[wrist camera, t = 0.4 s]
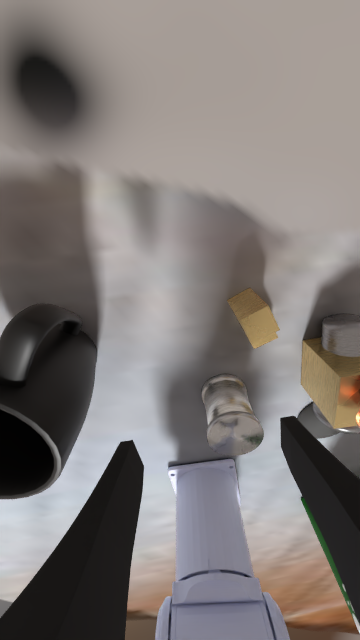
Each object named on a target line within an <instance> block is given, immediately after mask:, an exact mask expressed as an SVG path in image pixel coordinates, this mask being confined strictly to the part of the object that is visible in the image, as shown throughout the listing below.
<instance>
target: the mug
mask: <svg viewBox="0 0 360 640" xmlns="http://www.w3.org/2000/svg"><path fill="white" fill-rule="evenodd" d="M61 322H62V323H61ZM59 323H61V324H59ZM81 326H82V320H81V318H80V317H79V316H78V315H76V314H74V313H73V312H71V311H68V310H66V309H64V308H61V307H58V306H56V305H53V304H36V305H33V306H30V307H28V308H26V309H25V310H23V311H21V312H20V313H19V314H17V315H16V316H15V317H14V318H13V319H12V320H11V321H10V322H9V323H8V325H7V326H6V327H5V329H4V331H3V333H2V335H1V337H0V499H17V498H24V497H29V496H32V495H35V494H38V493H41V492H42V491H44V490H46V489H47V488H49V487H50V486H51V485H52V484H53V483H54V482H55V481H56V480H57V479H58V477H59V476H60V474H61V472H62V470H63V468H64V466H65V464H66V461H67V459H68V457H69V455H70V453H71V451H72V448H73V446H74V444H75V442H76V440H77V437H78V435H79V433H80V431H81V428H82V426H83V423H84V421H85V418H86V415H87V412H88V409H89V405H90V401H91V397H92V393H93V387H94V379H95V367H96V361H97V351H96V347H95V345H94V343H93V341H92V340H91V339H90V337H89V336H88V335H86V334H85V333H84V332H83V331H81V330H80V329H81Z"/></svg>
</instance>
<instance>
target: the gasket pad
mask: <svg viewBox="0 0 360 640" xmlns="http://www.w3.org/2000/svg"><path fill="white" fill-rule="evenodd" d="M297 419H298V420H299V421H300V422H301V423H302V424H303V426H304V427H305V428H306V429H307V430H308V431H309V432H310V433H311V434H312V435H313V436H314V437H315V438H326V437H330V436H333V435H335V434H337V433H339V431H336V430H333V429H331V428H329V427H327V426H326V425H324V424H323V423H322V422H321V421H320V420H319V419H318V418H317V417H316V415H315V414H314V411H313V403H312V404H310V405H309V406H307V407H306V408H305V409H304V410H303V411H302V412H301V413H300V414H299V416H298V418H297Z"/></svg>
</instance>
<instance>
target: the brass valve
mask: <svg viewBox="0 0 360 640" xmlns="http://www.w3.org/2000/svg"><path fill="white" fill-rule="evenodd" d="M301 385H302V386H303V388H304V389H305V390H306V392H307V393H308V394H309V396H310V397H311V398H312V400H313V401H314V402H313V411H314V414H315V415H316V417H317V418H318V419H319V420H320V421H321V422H322V423H323V424H324V425H326V426H327V427H329V428H331V429H333V430H336V431H339V432H342V433H348V434H357V433H360V316H358V315H352V314H336V315H331V316H328V317H326V318H325V319H324V320H323V325H322V337H320V338H314V339H308V340H303V345H302V370H301Z"/></svg>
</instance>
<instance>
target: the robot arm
mask: <svg viewBox="0 0 360 640" xmlns="http://www.w3.org/2000/svg"><path fill="white" fill-rule="evenodd" d="M280 421H281V448H282V450H283V453H284V456H285V458H286V461H287V463H288V466H289V468H290V471H291V473H292V475H293V477H294V479H295V481H296V483H297V485H298V487H299V489H300V491H301V493H302V495H303V497H304V499H305V502H306V504H307V506H308V508H309V510H310V512H311V514H312V516H313V518H314V520H315V522H316V524H317V526H318V528H319V530H320V532H321V534H322V536H323V538H324V540H325V542H326V545H327V547H328V549H329V551H330V554H331V556H332V559H333V561H334V563H335V566H336V568H337V571H338V573H339V575H340V578H341V580H342V583H343V585H344V588H345V590H346V593H347V595H348V598H349V600H350V603H351V605H352V607H353V610H354V612H355V615H356V617H357V620H358V622H359V625H360V479H359V478H358V477H356V476H355V475H354V474H353V473H352V472H351V471H350V470H349V469H347V468H346V467H345V466H344V465H343V464H342V463H341V462H340V461H339V460H338V459H337V458H336V457H335V456H334V455H332V454H331V453H330V452H329V451H328V450H327V449H326V448H325V447H324V446H323V445H322V444H321V443H320V442H319V441H318V440H317V439H316V438H315V437H314V436H313V435H312V434H311V433H310V432H309V431H308V430H307V429H306V428H305V427H304V426H303V424H302V423H301V422H300V421H299V420H298V419H297V418H296V417H295V416H290V417H283V418H280ZM143 473H144V465H143V463H142V461H141V458H140V456H139V454H138V451H137V449H136V447H135V444H134V442H133V440H130V441H124V442H120V444H119V446H118V447H117V449H116V451H115V453H114V455H113V457H112V459H111V460H110V462H109V464H108V466H107V468H106V469H105V471H104V473H103V475H102V477H101V478H100V480H99V482H98V483H97V485H96V487H95V489H94V490H93V492H92V494H91V495H90V497H89V499H88V500H87V502H86V503H85V505H84V507H83V508H82V510H81V511H80V513H79V514H78V516H77V518H76V519H75V521H74V522H73V524H72V525H71V527H70V528H69V530H68V531H67V533H66V534H65V536H64V537H63V538H62V540H61V541H60V543H59V544H58V545H57V547H56V548H55V550H54V551H53V552H52V554H51V555H50V556H49V558H48V559H47V560H46V562H45V563H44V564H43V566H42V567H41V568H40V570H39V571H38V572H37V574H36V575H35V576H34V578H33V579H32V580H31V581H30V583H29V584H28V585H27V586H26V588H25V589H24V590H23V591H22V593H21V594H20V595H19V596H18V597H17V599H16V600H15V601H14V602H13V604H12V605H11V606H10V607H9V609H8V610H7V611H6V612H5V613H4V614H3V616H2V617H1V618H0V640H125V627H126V614H127V601H128V590H129V579H130V568H131V560H132V552H133V546H134V540H135V534H136V528H137V522H138V516H139V509H140V503H141V497H142V489H143ZM168 474H169V477H170V480H171V483H172V485H173V488H174V491H175V494H176V582H173V584H172V596H167V597H166V598H165V600H164V603H163V604H162V606H161V607H160V609H159V613H158V618H157V626H156V636H155V640H290V638H289V634H288V631H287V628H286V625H285V622H284V619H283V616H282V613H281V611H280V608H279V606H278V605H277V603H276V602H275V601H274V600H273V599H272V597H271V595H270V594H269V593H268V592H262V591H261V586H260V582H259V579H258V578H255V577H254V572H253V568H252V563H251V558H250V553H249V549H248V544H247V539H246V535H245V530H244V525H243V520H242V516H241V511H240V505H241V501H240V494H239V488H238V481H237V475H236V468H235V462H234V460H233V459H225V460H217V461H210V462H202V463H195V464H187V465H180V466H172V467H169V468H168Z"/></svg>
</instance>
